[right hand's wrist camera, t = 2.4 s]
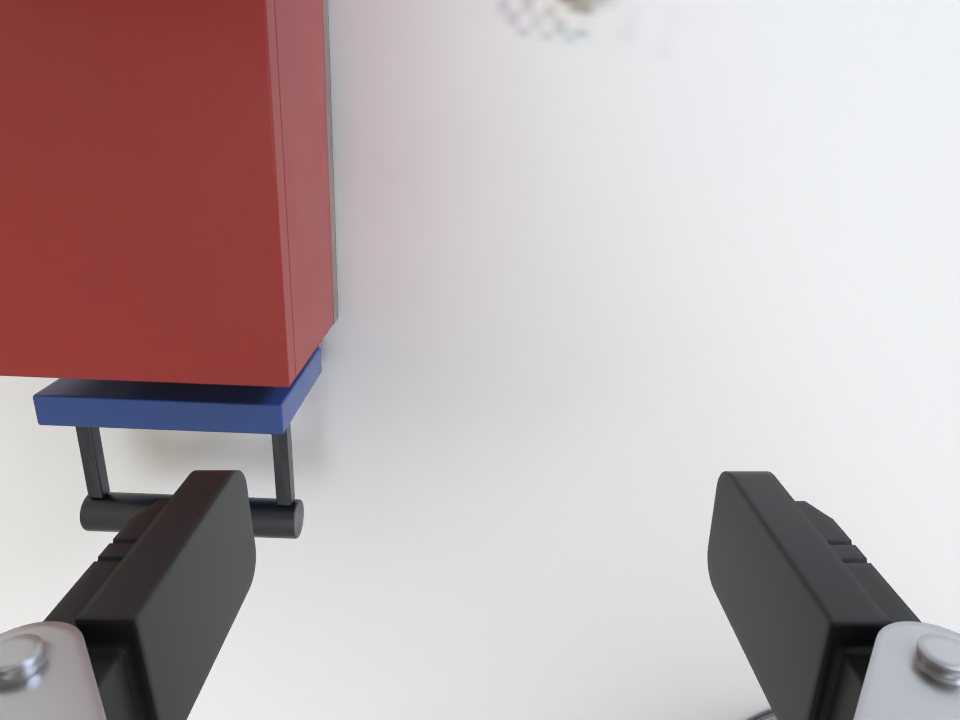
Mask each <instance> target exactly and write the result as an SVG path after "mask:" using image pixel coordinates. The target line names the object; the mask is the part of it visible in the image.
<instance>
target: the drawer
mask: <svg viewBox="0 0 960 720" xmlns="http://www.w3.org/2000/svg"><path fill="white" fill-rule="evenodd" d="M320 373H321V350H320V348H316V349H315V351H314V352H313V354H312V355H311V356H310V358H309V359H308V361H307V362H306V364H305V365H304V367H303V368H302V369H301V371H300V372H299V374H298V375H297V377H295V379H294V381H293V382H292V384H291V385H290V386H289V387H269V386H245V385H220V384H195V383H171V382H146V381H121V380H97V379H72V378H60V379H58V380H57V381H55V382H53V383H52V384H50V385H49V386H47V387H46V388H44V389H42V390H41V391H39V392H38V393H36V394H35V395H34V396H33V400H34V405H35V410H36V415H37V420H38V423H39V424H40V425H57V426H76V431H77V437H78V442H79V447H80V453H81V458H82V463H83V469H84V474H85V480H86V485H87V490H88V495H87V496H86V498H85V499H84V501H83V503H82V506H81V511H80V522H81V525H82V527H83V529H85V530H87V531H106V532H120V531H121V529H122V528H123V527H124V526H125V525H126V524H127V522H128V521H129V520H130V519H131V518H132V517H134V516H135V515H137V514H138V513H140V512H141V511H143V510H144V509H146V508H148V507H149V506H151V505H152V504H154V503H155V502H157V501H158V500H170V499H171V497H172V496H173V495H170V494H144V493H118V492H109V491H110V489H109V483H108V477H107V472H106V466H105V460H104V454H103V448H102V443H101V437H100V431H99V427H107V428H132V429H157V430H183V431H208V432H233V433H258V434H272V444H273V458H274V471H275V485H276V499H274V498H249V505H250V512H251V519H252V526H253V533H254V537H266V538H292V539H296V538H298V537H299V535H300V533H301V530H302V525H303V517H304V508H303V503H302V501H301V500H299V499H295V492H294V476H293V460H292V444H291V428H290V422H291V420H292V419H293V417H294V415H295V414H296V412H297V410H298V409H299V407H300V406H301V404H302V402H303V401H304V399H305V397H306V396H307V394H308V392H309V391H310V389H311V388H312V386H313V384H314V383H315V381H316V379H317V378H318V376H319V375H320Z"/></svg>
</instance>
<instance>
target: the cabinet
mask: <svg viewBox="0 0 960 720" xmlns="http://www.w3.org/2000/svg"><path fill="white" fill-rule="evenodd" d="M337 319H338V299H337V268H336V237H335V207H334V176H333V145H332V114H331V84H330V53H329V22H328V0H0V376H23V377H47V378H72V379H97V380H121V381H146V382H171V383H195V384H220V385H245V386H269V387H289V386H290V385H291V384H292V382H293V381H294V379H295V377H297V375H298V374H299V372H300V371H301V369H302V368H303V367H304V365H305V364H306V362H307V361H308V359H309V358H310V356H311V355H312V354H313V352H314V351H315V349H316V348H317V346H318V345H319V343H320V342H321V341H322V339H323V338H324V336H325V335H326V333H327V332H328V330H329V329H330V328H331V326H332V325H333V324H334V323H335V322H336V320H337Z"/></svg>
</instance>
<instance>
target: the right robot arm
mask: <svg viewBox="0 0 960 720" xmlns="http://www.w3.org/2000/svg"><path fill="white" fill-rule="evenodd" d="M255 563H256V548H255V540H254V533H253V526H252V519H251V512H250V505H249V498H248V490H247V484H246V479H245V476H244V474H243V473H242V472H241V471H239V470H196V471H193V472H192V473H191V474H190V475H189V476H188V477H187V478H186V480H185V481H184V482H183V483H182V485H181V486H180V487H179V488H178V490H177V491H176V492H175V494H174V495H173V496H172V497H171V499H170V500H158V501H157V502H155V503H154V504H152V505H151V506H149V507H148V508H146V509H144V510H143V511H141V512H140V513H138V514H137V515H135V516H134V517H132V518H131V519H130V520H129V521H128V522H127V524H126V525H125V526H124V527H123V528H122V529H121V531H120V532H119V533H118V534H117V535H116V536H115V538H114V539H113V543H110V544H109V545H108V546H107V547H106V548H105V549H104V551H103V552H102V553H101V554H100V555H99V556H98V561H97V562H93V564H92V565H91V566H90V567H89V568H88V569H87V571H86V572H85V573H84V574H83V575H82V576H81V578H80V579H79V580H78V581H77V582H76V584H75V585H74V586H73V587H72V588H71V589H70V591H69V592H68V593H67V594H66V595H65V596H64V598H63V599H62V600H61V601H60V602H59V603H58V605H57V606H56V607H55V608H54V609H53V611H52V612H51V613H50V614H49V615H48V616H47V618H46V619H45V620H44V621H43V622H38V623H32V624H28V625H24V626H21V627H18V628H15V629H12V630H9V631H7V632H4V633H2V634H0V720H187V718H188V716H189V714H190V711H191V709H192V707H193V705H194V703H195V701H196V699H197V697H198V695H199V693H200V691H201V689H202V686H203V684H204V682H205V680H206V678H207V676H208V674H209V672H210V670H211V668H212V666H213V664H214V661H215V659H216V657H217V655H218V653H219V651H220V649H221V647H222V645H223V643H224V641H225V638H226V636H227V634H228V632H229V630H230V628H231V626H232V624H233V622H234V620H235V618H236V616H237V613H238V611H239V609H240V607H241V605H242V603H243V601H244V599H245V597H246V595H247V593H248V591H249V588H250V586H251V583H252V580H253V576H254V571H255ZM708 570H709V576H710V580H711V583H712V586H713V589H714V591H715V593H716V595H717V597H718V599H719V601H720V603H721V605H722V607H723V609H724V611H725V614H726V616H727V618H728V620H729V622H730V624H731V626H732V628H733V630H734V632H735V634H736V636H737V638H738V640H739V642H740V644H741V646H742V649H743V651H744V653H745V655H746V657H747V659H748V661H749V663H750V665H751V667H752V669H753V671H754V673H755V675H756V677H757V679H758V681H759V684H760V686H761V688H762V690H763V692H764V694H765V696H766V698H767V700H768V702H769V704H770V706H771V708H772V710H773V713H770V714H767V715H764V716H762V717H760V718H758V719H755V720H960V634H958V633H956V632H953V631H951V630H948V629H945V628H942V627H939V626H936V625H932V624H928V623H922V622H921V621H920V620H919V619H918V618H917V617H916V615H915V614H914V613H913V612H912V611H911V610H910V608H909V607H908V606H907V605H906V604H905V603H904V601H903V600H902V599H901V598H900V597H899V596H898V594H897V593H896V592H895V591H894V590H893V589H892V587H891V586H890V585H889V584H888V583H887V582H886V580H885V579H884V578H883V577H882V576H881V575H880V573H879V572H878V571H877V570H876V569H875V568H874V566H873V565H872V564H871V563H867V558H866V557H865V556H864V555H863V554H862V552H861V551H860V550H859V549H858V548H857V547H856V545H852V543H851V540H850V538H849V537H848V536H847V535H846V534H845V533H844V531H843V530H842V529H841V528H840V527H839V526H838V524H837V523H836V522H835V521H834V520H833V519H832V518H830V517H829V516H827V515H825V514H824V513H822V512H821V511H819V510H818V509H816V508H815V507H813V506H811V505H810V504H808V503H807V502H805V501H794V500H793V498H792V497H791V496H790V495H789V493H788V492H787V491H786V490H785V488H784V487H783V486H782V485H781V483H780V482H779V481H778V480H777V478H776V477H775V476H774V475H773V474H772V473H771V472H768V471H725V472H723V473H721V475H720V477H719V479H718V483H717V489H716V496H715V503H714V510H713V517H712V524H711V531H710V538H709V545H708Z"/></svg>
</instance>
